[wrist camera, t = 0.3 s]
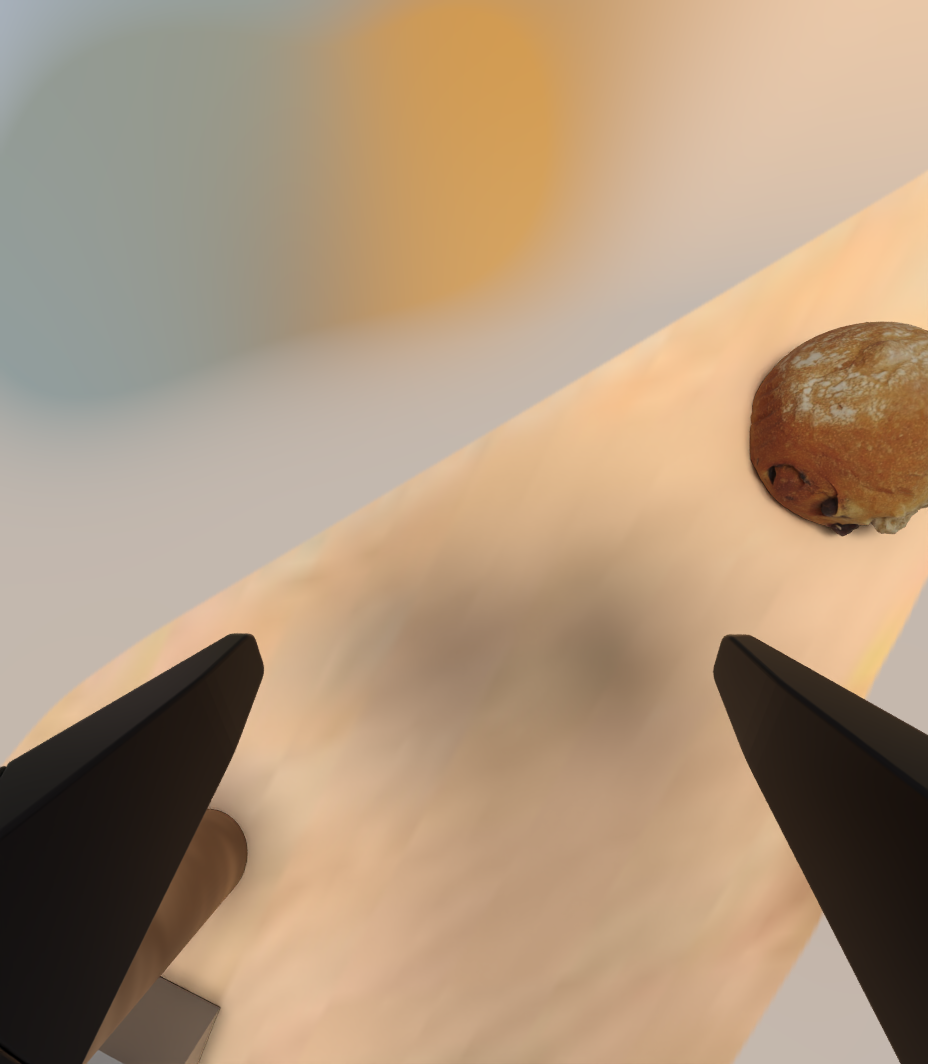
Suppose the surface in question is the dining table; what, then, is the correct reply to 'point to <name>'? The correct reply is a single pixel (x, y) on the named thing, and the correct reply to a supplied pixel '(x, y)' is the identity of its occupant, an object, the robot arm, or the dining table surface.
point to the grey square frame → (161, 1029)
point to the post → (181, 911)
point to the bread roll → (847, 427)
